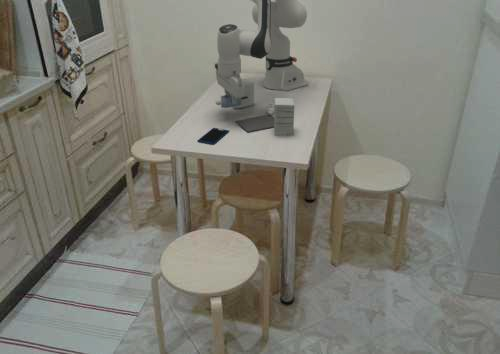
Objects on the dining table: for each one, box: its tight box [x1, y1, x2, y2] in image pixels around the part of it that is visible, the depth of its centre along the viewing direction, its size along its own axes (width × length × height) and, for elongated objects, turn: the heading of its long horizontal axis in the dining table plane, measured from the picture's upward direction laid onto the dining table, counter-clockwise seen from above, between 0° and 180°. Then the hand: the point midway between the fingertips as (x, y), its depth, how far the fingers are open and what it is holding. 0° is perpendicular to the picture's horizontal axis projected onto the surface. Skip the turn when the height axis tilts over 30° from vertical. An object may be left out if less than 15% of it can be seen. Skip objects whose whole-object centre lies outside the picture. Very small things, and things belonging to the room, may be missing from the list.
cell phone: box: [197, 127, 230, 146], centre depth 182 cm, size 7×14×1 cm, turn 157°
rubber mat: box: [234, 114, 274, 134], centre depth 192 cm, size 16×12×1 cm
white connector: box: [266, 102, 275, 116], centre depth 202 cm, size 10×3×3 cm, turn 177°
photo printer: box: [232, 77, 255, 110], centre depth 207 cm, size 10×4×12 cm, turn 123°
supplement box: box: [273, 97, 295, 136], centre depth 182 cm, size 7×7×13 cm
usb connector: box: [215, 94, 248, 109], centre depth 194 cm, size 14×4×4 cm, turn 116°
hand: (231, 101), depth 194 cm, fingers closed on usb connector, 4 cm apart
